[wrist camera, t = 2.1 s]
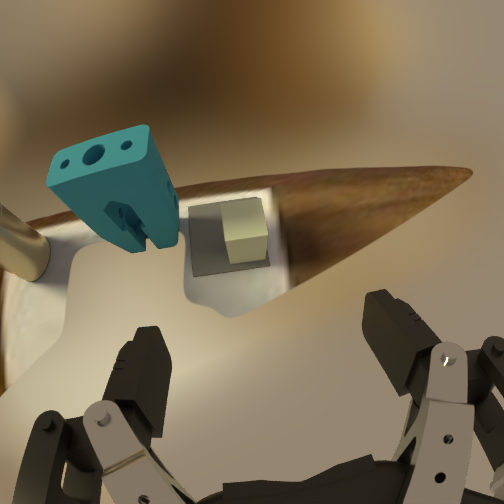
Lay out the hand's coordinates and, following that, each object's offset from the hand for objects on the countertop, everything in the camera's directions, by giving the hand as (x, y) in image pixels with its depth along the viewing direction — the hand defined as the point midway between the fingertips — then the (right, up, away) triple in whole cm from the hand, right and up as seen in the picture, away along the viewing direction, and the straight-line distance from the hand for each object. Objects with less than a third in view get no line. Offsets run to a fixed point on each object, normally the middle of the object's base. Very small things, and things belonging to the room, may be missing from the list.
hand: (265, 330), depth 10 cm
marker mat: (-4, +5, +32) cm, 32 cm away
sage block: (-1, +4, +31) cm, 31 cm away
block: (-16, +5, +32) cm, 36 cm away
